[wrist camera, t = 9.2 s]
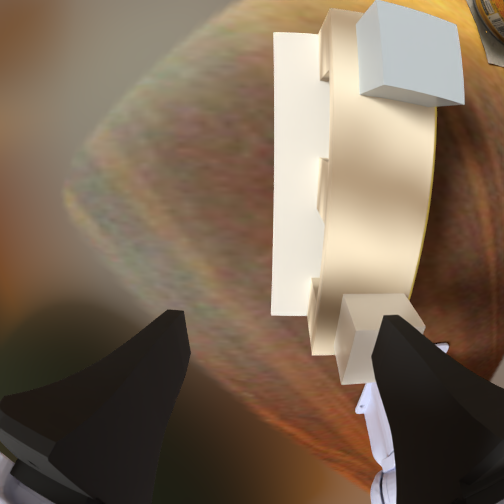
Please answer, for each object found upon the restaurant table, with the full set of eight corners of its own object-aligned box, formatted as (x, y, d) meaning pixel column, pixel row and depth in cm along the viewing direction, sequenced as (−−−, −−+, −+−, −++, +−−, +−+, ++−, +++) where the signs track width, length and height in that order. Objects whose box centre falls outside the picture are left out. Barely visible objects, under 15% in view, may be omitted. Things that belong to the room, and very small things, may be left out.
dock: (396, 299, 21) (405, 314, 19) (271, 299, 21) (270, 316, 20) (420, 62, 14) (434, 57, 12) (273, 42, 14) (273, 31, 12)
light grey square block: (428, 107, 10) (464, 104, 7) (359, 94, 10) (383, 84, 8) (424, 40, 9) (456, 24, 6) (355, 24, 9) (376, -1, 6)
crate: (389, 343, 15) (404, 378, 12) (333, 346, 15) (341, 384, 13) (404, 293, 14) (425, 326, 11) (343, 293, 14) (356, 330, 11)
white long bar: (374, 315, 19) (390, 351, 15) (307, 315, 19) (312, 355, 16) (399, 47, 12) (429, 30, 8) (318, 34, 12) (330, 8, 9)
